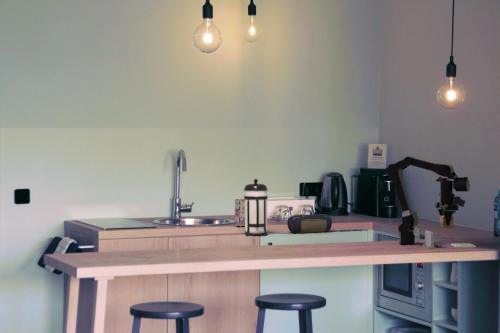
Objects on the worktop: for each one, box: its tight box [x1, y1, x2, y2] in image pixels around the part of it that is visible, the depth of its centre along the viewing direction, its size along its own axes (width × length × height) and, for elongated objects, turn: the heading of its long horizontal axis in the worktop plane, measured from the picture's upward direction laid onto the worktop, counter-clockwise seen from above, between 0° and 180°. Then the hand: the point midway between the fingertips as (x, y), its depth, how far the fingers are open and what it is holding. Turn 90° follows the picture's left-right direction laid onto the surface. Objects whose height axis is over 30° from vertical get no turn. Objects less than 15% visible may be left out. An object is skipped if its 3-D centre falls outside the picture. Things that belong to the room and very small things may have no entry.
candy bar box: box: [234, 198, 245, 223], centre depth 478 cm, size 11×5×16 cm, turn 130°
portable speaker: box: [286, 213, 333, 234], centre depth 443 cm, size 25×10×10 cm, turn 109°
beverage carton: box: [398, 223, 421, 240], centre depth 421 cm, size 8×19×7 cm, turn 0°
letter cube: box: [439, 215, 455, 229], centre depth 379 cm, size 5×5×5 cm
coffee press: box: [243, 178, 269, 237], centre depth 431 cm, size 17×16×30 cm
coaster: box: [450, 242, 477, 249], centre depth 379 cm, size 9×9×1 cm
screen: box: [423, 230, 436, 249], centre depth 379 cm, size 3×11×7 cm, turn 2°
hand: (446, 224), depth 379 cm, fingers closed on letter cube, 5 cm apart
